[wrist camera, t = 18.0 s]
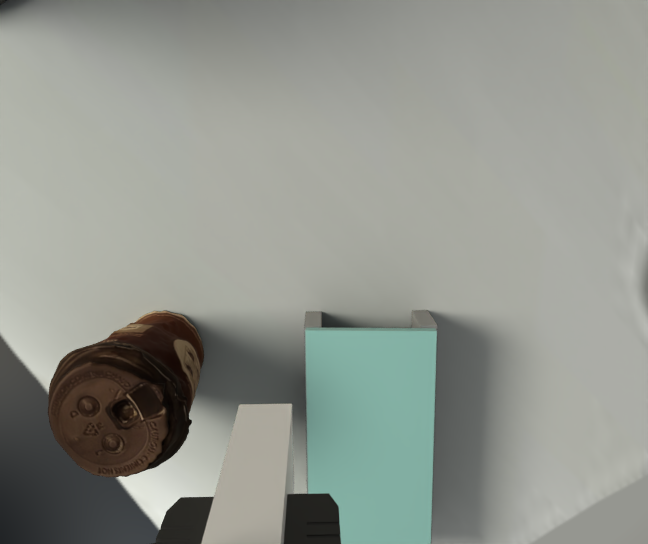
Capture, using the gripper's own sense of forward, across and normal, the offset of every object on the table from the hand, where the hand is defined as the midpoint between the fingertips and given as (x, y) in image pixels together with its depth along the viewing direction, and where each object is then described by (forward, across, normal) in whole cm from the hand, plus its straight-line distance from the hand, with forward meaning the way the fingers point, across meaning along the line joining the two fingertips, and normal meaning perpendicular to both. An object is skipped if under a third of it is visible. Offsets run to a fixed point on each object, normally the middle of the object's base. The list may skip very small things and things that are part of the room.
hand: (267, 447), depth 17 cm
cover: (+24, +5, -14) cm, 28 cm away
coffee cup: (+29, -10, -8) cm, 32 cm away
